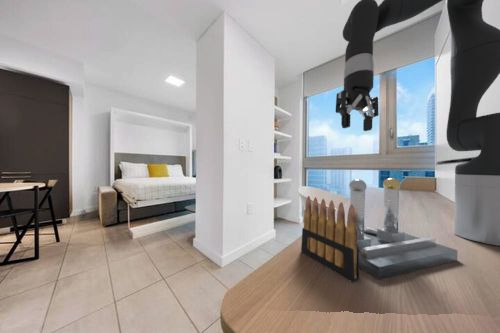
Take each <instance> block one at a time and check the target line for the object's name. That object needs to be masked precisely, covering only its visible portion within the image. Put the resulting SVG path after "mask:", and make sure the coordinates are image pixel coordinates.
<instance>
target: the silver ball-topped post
mask: <svg viewBox="0 0 500 333" xmlns="http://www.w3.org/2000/svg"><path fill="white" fill-rule="evenodd" d="M348 187H349V190H350V191H349V192H350V196H349V197H350V198H349V206H350V205H351V204H352V205H353V206H354V210H355V215H356V229H357V247H358V251H360V250H362V248H364V247H370V246H371V238H368V237H366V236H364V230H365V215H366V214H365V211H366V210H365V208H366V206H365V205H366V200H365V199H366V191H367V188H368V187H367V184H366V182H365V181H364V180H362V179H360V178H356V179H353V180H351V181H350V182H349V185H348Z"/></svg>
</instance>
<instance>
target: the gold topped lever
mask: <svg viewBox="0 0 500 333" xmlns="http://www.w3.org/2000/svg"><path fill="white" fill-rule="evenodd" d="M382 182H383V183H382V186H383V193H384V194H383V227H382V228H376V229H377V230H374V229H375V228H371V227H368V226H366V227H365V230H368V231H371V232H373V233H376V234H377V238H380V239H382V240H385V241H387V242H390V243H396V242H402V241H405V234H406V232H405V231H403V230H399V213H400V211H399V210H400V209H399V208H400V188H401V182H400V181H399V180H398V179H397V178H394V177H389V178H386V179H384V181H382Z"/></svg>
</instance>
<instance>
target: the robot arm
mask: <svg viewBox="0 0 500 333" xmlns="http://www.w3.org/2000/svg"><path fill="white" fill-rule="evenodd" d="M484 1H485V0H445V5H446V12H447V18H448V24H449V30H450V31H449V34H450V35H449V36H450V51H451V52H450V102H449V109H448V110H449V112H448V117H447V124H446V142H447V144H448V146H449V147H450V148H451V149H452V151H453V150H454V151H456V152H475V151H480V153H479V155H477V156H476V157H475V158H473V159H470V160H468V161H464V162H462V163H458V164H457V165H456V166H455V169H454V173H455V174H454V227H453V228H454V234H455V235H456V236H458V237H461V238H464V239H467V240H470V241H474V242H478V243H481V244H488V245H493V246H500V112H494V113H490V114H485V115H480V116H477V115H478V114H477V113H478V108H479V104H480V101H482V98H483V96H484V95H485V94H486V92H487V91H488V90H489V89H490V87H491V85H493V83H494V82H495V80H496V79H497V78H498V76H499V75H500V29H499V28H497V27H496V26H495V25H494V26H493V25H491V24H489V23H487V22H486V21H485V20H484V18H483V3H484ZM440 2H443V0H383V1H381V3H380V4H378V3H377V0H359V1H358V2H357V3H356V4H355V5H354V6H353V7H352V10H351V11H350V13H349V16H348V18H347V20H346V22H345V24H344V26H343V29H342V37H343V39H344V41H345V42H348V43H347V45H346V48H345V55H344V56H345V57H344V58H345V62H344V63H345V64H344V70H343V90H340V91H339V92H338V93H336V98H335V113H336V114H340V116H341V117H340V118H341V120H340V121H341V124H340V125H341V128H342V129H348V128H350V127H351V112H352V111H354V110H355V111H357V112H358V113H359V114H361V116H362V117H363V123H362V124H363V126H362V127H363V131H364V132H368V131H372V130H373V118H376V117H378V116H379V114H380V113H379V97H378V96H374V97H371V94H370V92H372V89H373V88H374V81H375V80H374V76H375V75H374V71H375V67H374V66H375V64H374V44H373V43H374V38H375V36H376V33H378V32H379V31H382V30H383V29H384V28H387V27H390V26H393V25H396V24H399V23H402V22H405V21H407V20H410V19H412V18H414V17H416V16H418V15H420V14H422V13H423V12H425V11H427V10H429V9H430V8H432V7H434V6H435V5H437V4H439V3H440ZM373 111H374V112H373Z"/></svg>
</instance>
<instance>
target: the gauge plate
mask: <svg viewBox="0 0 500 333" xmlns="http://www.w3.org/2000/svg"><path fill="white" fill-rule="evenodd" d="M373 229H374V230H377V229H378V228H373ZM364 236H366V237H368V238H371V246H370V247H364V248H362V250H360V251H358V253H359V269H362V270H363V271H364V272H366V273H367V274H369V275H371V276H372V277H375V278H376V279H378V280H383V279H386V278H387V279H388V278H391V277H394V276H398V275H399V276H400V275H403V274H407V273H411V272H415V271H420V270H423V269H428V268H432V267H435V266H440V265H444V264H449V263H452V262H455V261H458V250H457V249H454V248H451V247H448V246H445V245H444V244H443V245H442V244H438V243H436V238H433V237H430V236H429V237H422V238H421V237H418V236H414V235H411V234H408V233H405V241H402V242H396V243H390V242H387V241H385V240H382V239H380V238H377V234H376V233H373V232H371V231H368V230H366V229H364Z"/></svg>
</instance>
